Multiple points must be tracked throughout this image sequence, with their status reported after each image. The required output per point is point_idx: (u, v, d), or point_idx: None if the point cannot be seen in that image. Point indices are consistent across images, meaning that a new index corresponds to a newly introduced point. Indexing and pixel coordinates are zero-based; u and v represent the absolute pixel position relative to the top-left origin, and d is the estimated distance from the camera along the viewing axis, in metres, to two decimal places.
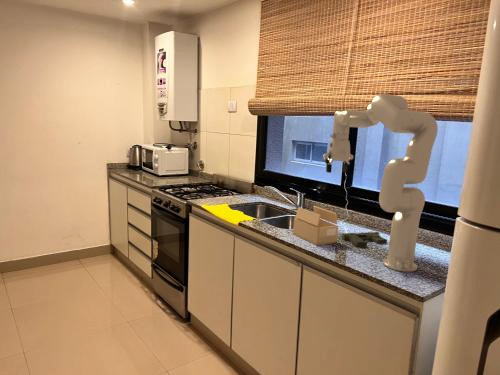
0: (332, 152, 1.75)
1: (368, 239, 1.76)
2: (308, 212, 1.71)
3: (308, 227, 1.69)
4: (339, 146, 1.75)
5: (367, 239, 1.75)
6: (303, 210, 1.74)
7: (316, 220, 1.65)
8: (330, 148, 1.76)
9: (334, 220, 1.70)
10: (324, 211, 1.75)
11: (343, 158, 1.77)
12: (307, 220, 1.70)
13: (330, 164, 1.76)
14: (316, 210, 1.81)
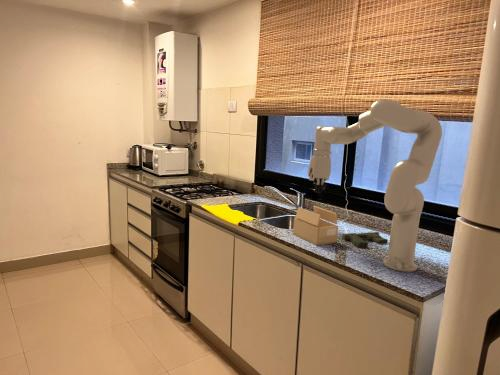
0: None
1: (369, 239, 1.75)
2: (308, 212, 1.71)
3: (308, 227, 1.69)
4: None
5: (368, 239, 1.75)
6: (303, 210, 1.74)
7: (316, 220, 1.65)
8: None
9: (334, 220, 1.70)
10: (324, 211, 1.75)
11: None
12: (307, 220, 1.70)
13: None
14: (316, 210, 1.81)
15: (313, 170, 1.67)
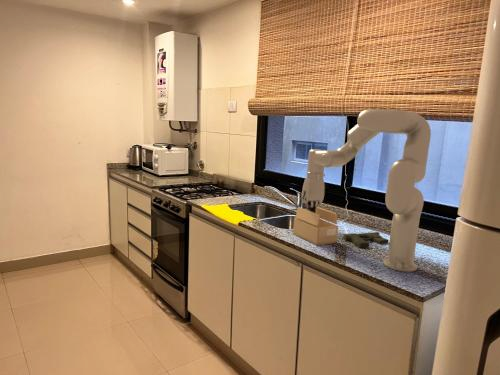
0: None
1: (369, 239, 1.75)
2: (308, 212, 1.71)
3: (308, 227, 1.69)
4: None
5: (368, 239, 1.75)
6: (303, 210, 1.74)
7: (316, 220, 1.65)
8: None
9: (334, 220, 1.70)
10: (324, 211, 1.75)
11: None
12: (307, 220, 1.70)
13: None
14: (316, 210, 1.81)
15: (306, 193, 1.67)
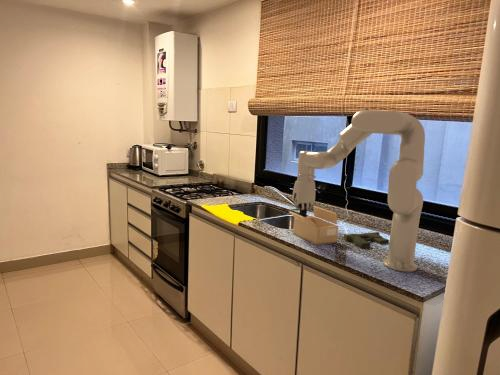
0: None
1: (370, 240, 1.75)
2: (300, 217, 1.69)
3: (308, 227, 1.69)
4: None
5: (369, 240, 1.75)
6: (295, 215, 1.72)
7: (312, 223, 1.64)
8: None
9: (334, 220, 1.70)
10: (324, 211, 1.75)
11: None
12: (305, 221, 1.70)
13: None
14: (316, 210, 1.81)
15: (297, 195, 1.65)
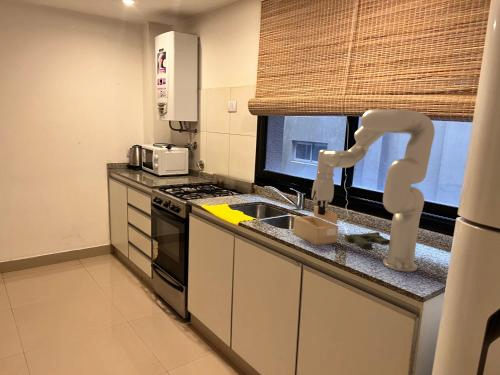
0: None
1: (371, 240, 1.75)
2: (299, 219, 1.69)
3: (308, 227, 1.69)
4: None
5: (370, 240, 1.74)
6: (294, 216, 1.72)
7: (311, 224, 1.64)
8: None
9: (334, 220, 1.70)
10: None
11: None
12: None
13: None
14: (317, 210, 1.81)
15: (317, 193, 1.69)
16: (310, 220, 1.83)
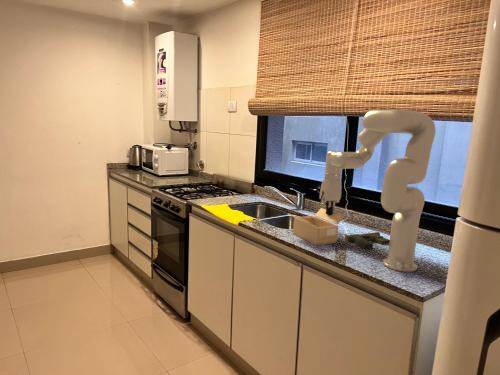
0: None
1: (372, 240, 1.74)
2: (299, 219, 1.69)
3: (308, 227, 1.69)
4: None
5: (371, 240, 1.74)
6: (294, 217, 1.72)
7: (311, 224, 1.64)
8: None
9: (337, 220, 1.71)
10: None
11: None
12: None
13: None
14: (321, 211, 1.82)
15: (325, 193, 1.72)
16: (310, 220, 1.83)
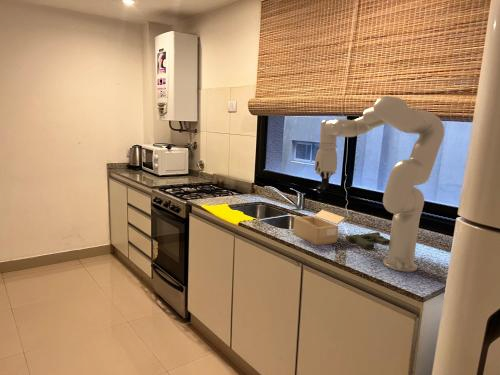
0: None
1: (372, 240, 1.74)
2: (299, 219, 1.69)
3: (308, 227, 1.69)
4: None
5: (371, 240, 1.74)
6: (294, 217, 1.72)
7: (311, 224, 1.64)
8: None
9: (337, 221, 1.71)
10: (332, 214, 1.78)
11: None
12: None
13: None
14: (322, 212, 1.83)
15: (320, 164, 1.67)
16: (310, 220, 1.83)
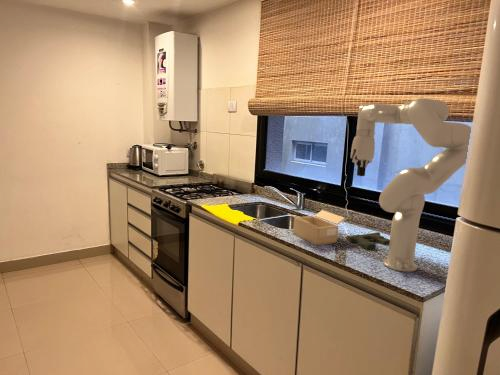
0: None
1: (373, 240, 1.74)
2: (299, 219, 1.69)
3: (308, 227, 1.69)
4: None
5: (372, 240, 1.74)
6: (294, 217, 1.72)
7: (311, 224, 1.64)
8: None
9: (337, 221, 1.71)
10: (332, 214, 1.78)
11: None
12: None
13: None
14: (322, 212, 1.83)
15: (357, 151, 1.58)
16: (310, 220, 1.83)
